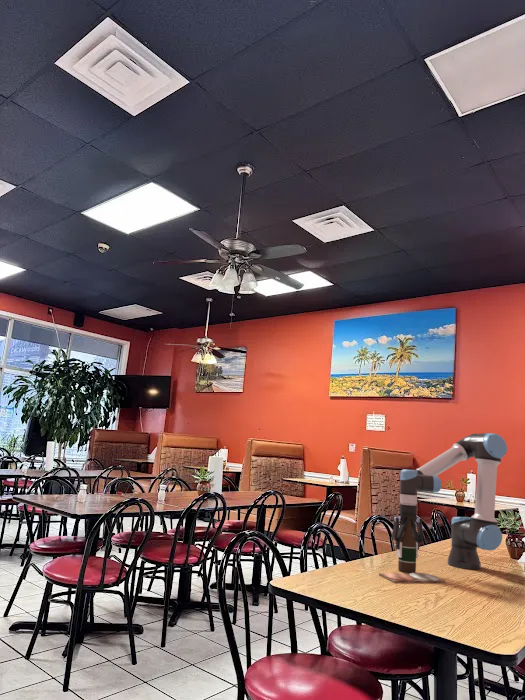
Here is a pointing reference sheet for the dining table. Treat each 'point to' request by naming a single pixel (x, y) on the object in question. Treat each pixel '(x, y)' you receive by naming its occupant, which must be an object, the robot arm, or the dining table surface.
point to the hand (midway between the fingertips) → (407, 557)
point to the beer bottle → (408, 550)
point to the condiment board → (411, 578)
